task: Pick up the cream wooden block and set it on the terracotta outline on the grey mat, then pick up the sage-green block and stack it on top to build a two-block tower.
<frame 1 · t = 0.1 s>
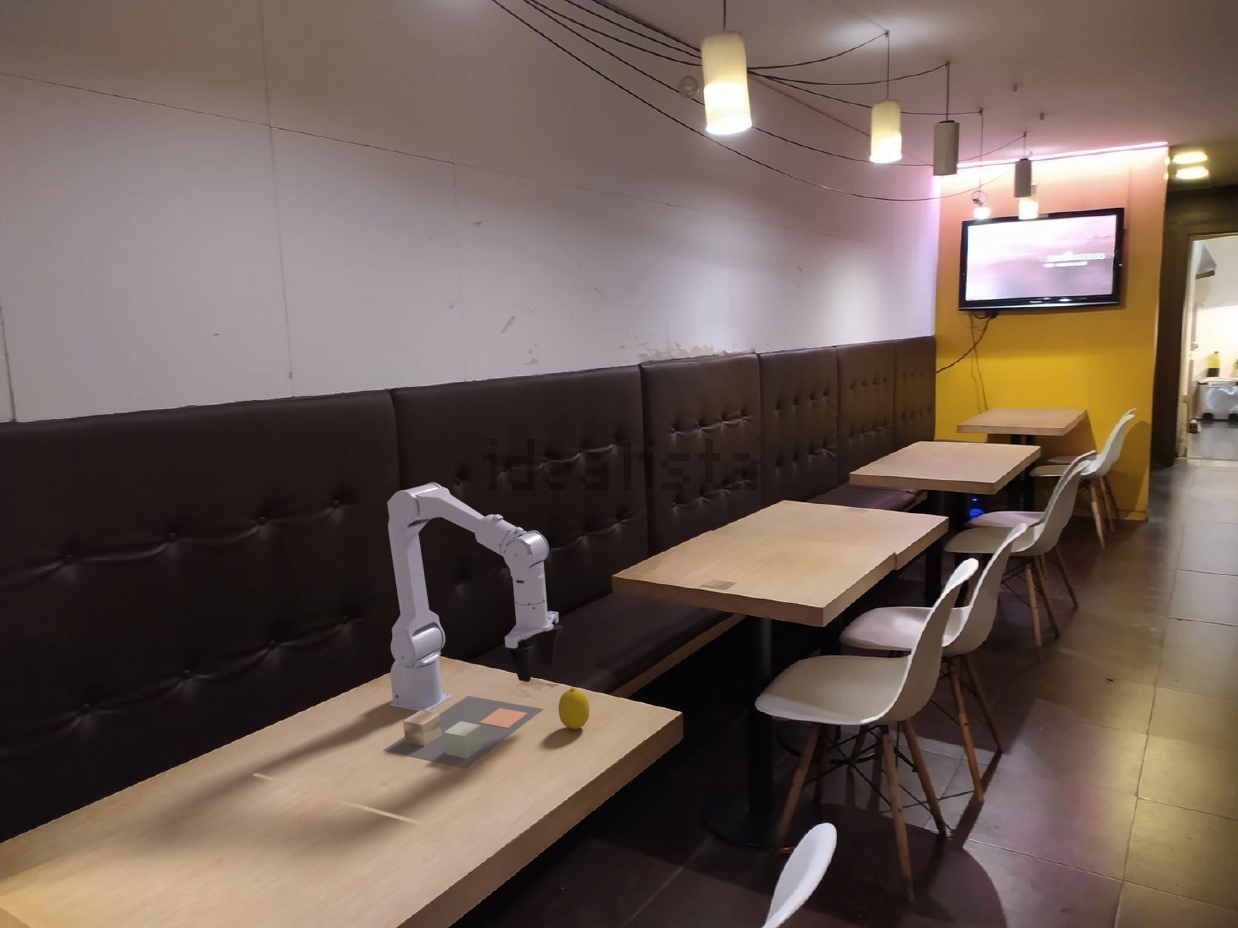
hand: (536, 672, 152), 10 cm above the table, tool pointing down, fingers open, 7 cm apart
sage block: (464, 750, 144), resting on grey mat
grey mat: (466, 730, 153), on the table
lemon: (575, 731, 150), on the table
cream block: (423, 738, 150), resting on grey mat
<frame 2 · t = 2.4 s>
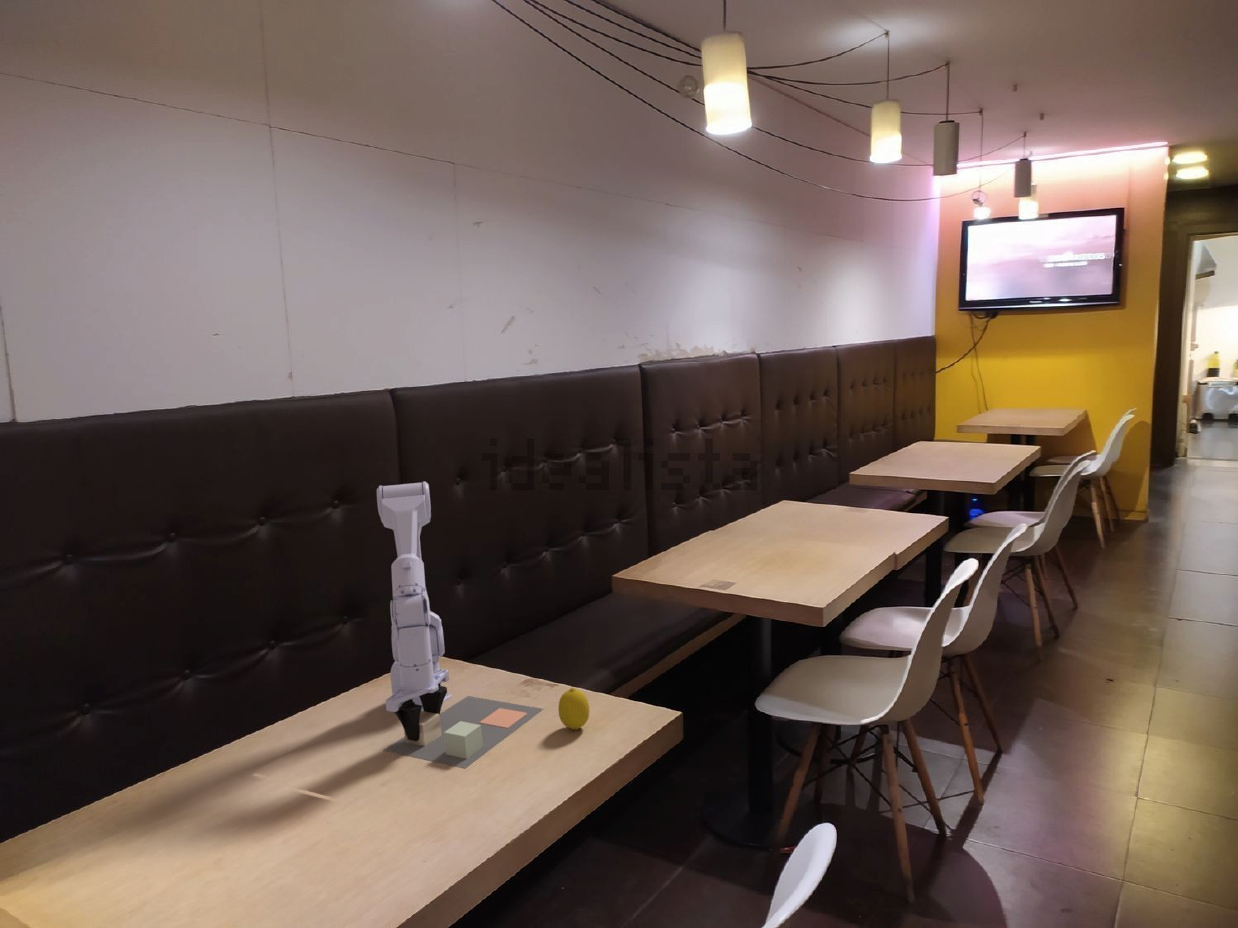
hand: (423, 733, 150), 1 cm above the table, tool pointing down, fingers closed on cream block, 4 cm apart
cream block: (423, 738, 150), resting on grey mat, touching gripper
everything else where it was.
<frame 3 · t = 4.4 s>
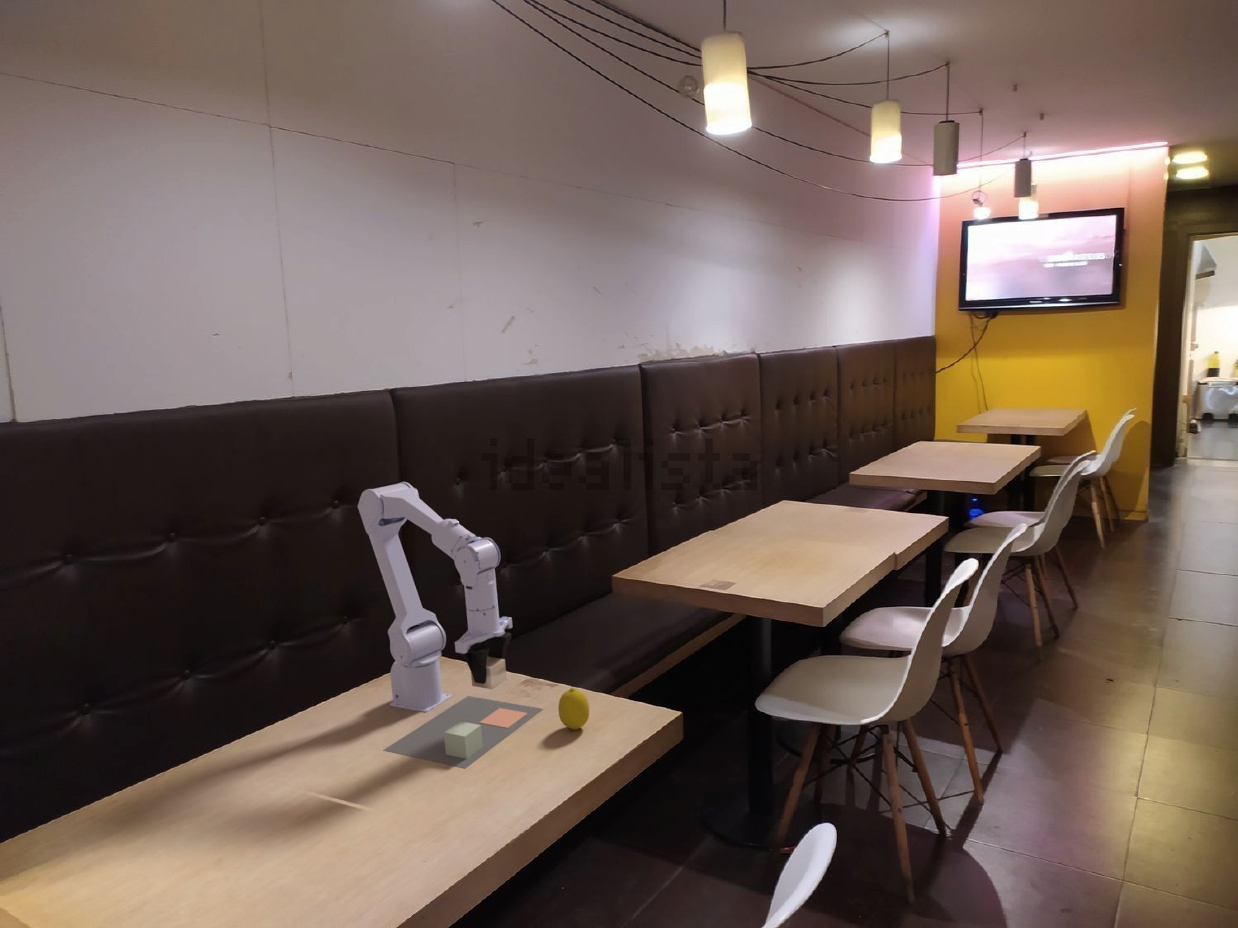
hand: (488, 677, 154), 9 cm above the table, tool pointing down, fingers closed on cream block, 4 cm apart
cream block: (489, 682, 154), point 8 cm above the table, touching gripper
everything else where it was.
when the fingers open (3 cm above the table, at t = 6.2 s): cream block drops 1 cm, resting on grey mat.
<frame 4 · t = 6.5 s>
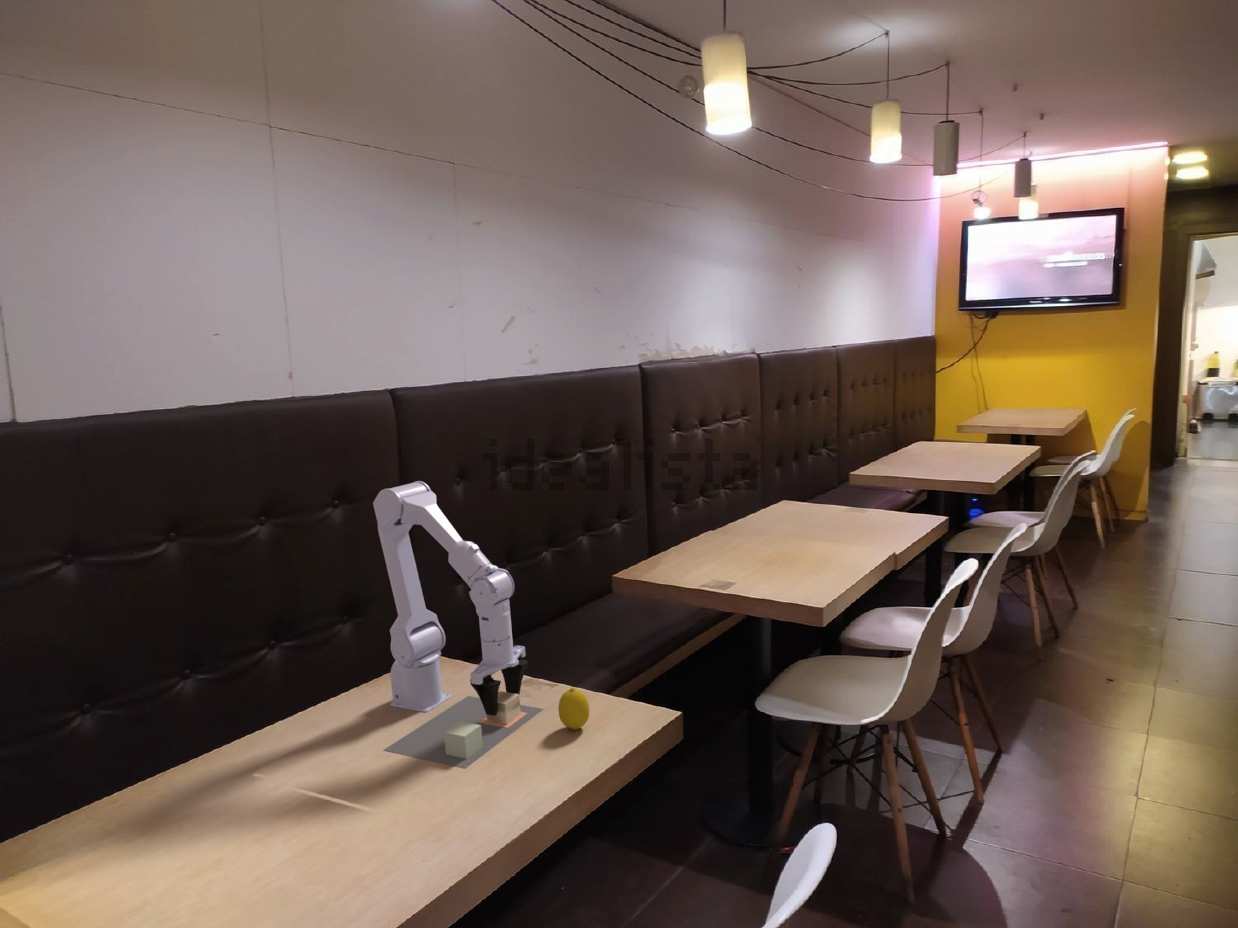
hand: (502, 706, 156), 3 cm above the table, tool pointing down, fingers open, 6 cm apart
cream block: (504, 717, 156), resting on grey mat
everything else where it was.
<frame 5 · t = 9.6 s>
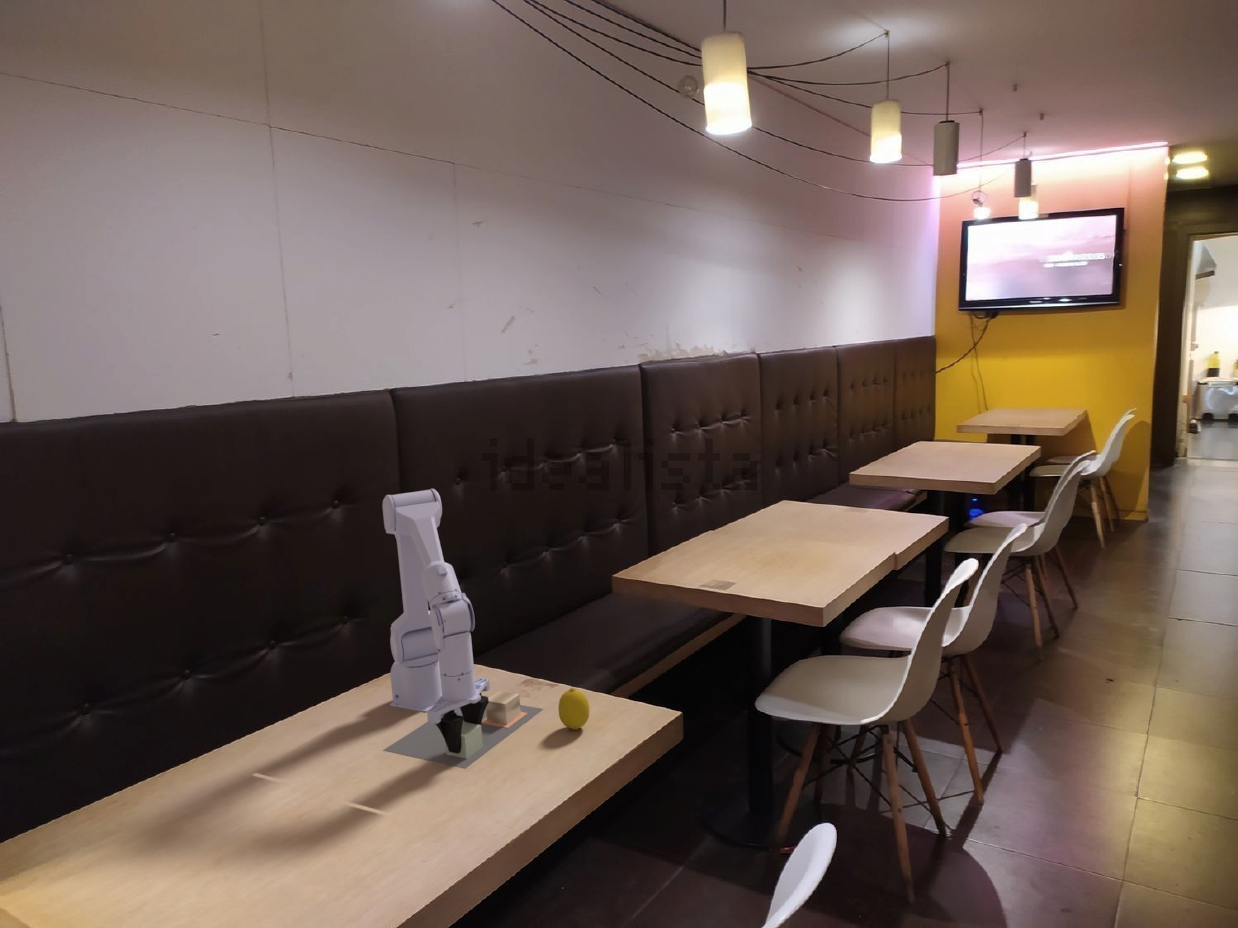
hand: (464, 744, 144), 1 cm above the table, tool pointing down, fingers closed on sage block, 4 cm apart
sage block: (464, 750, 144), resting on grey mat, touching gripper
everything else where it was.
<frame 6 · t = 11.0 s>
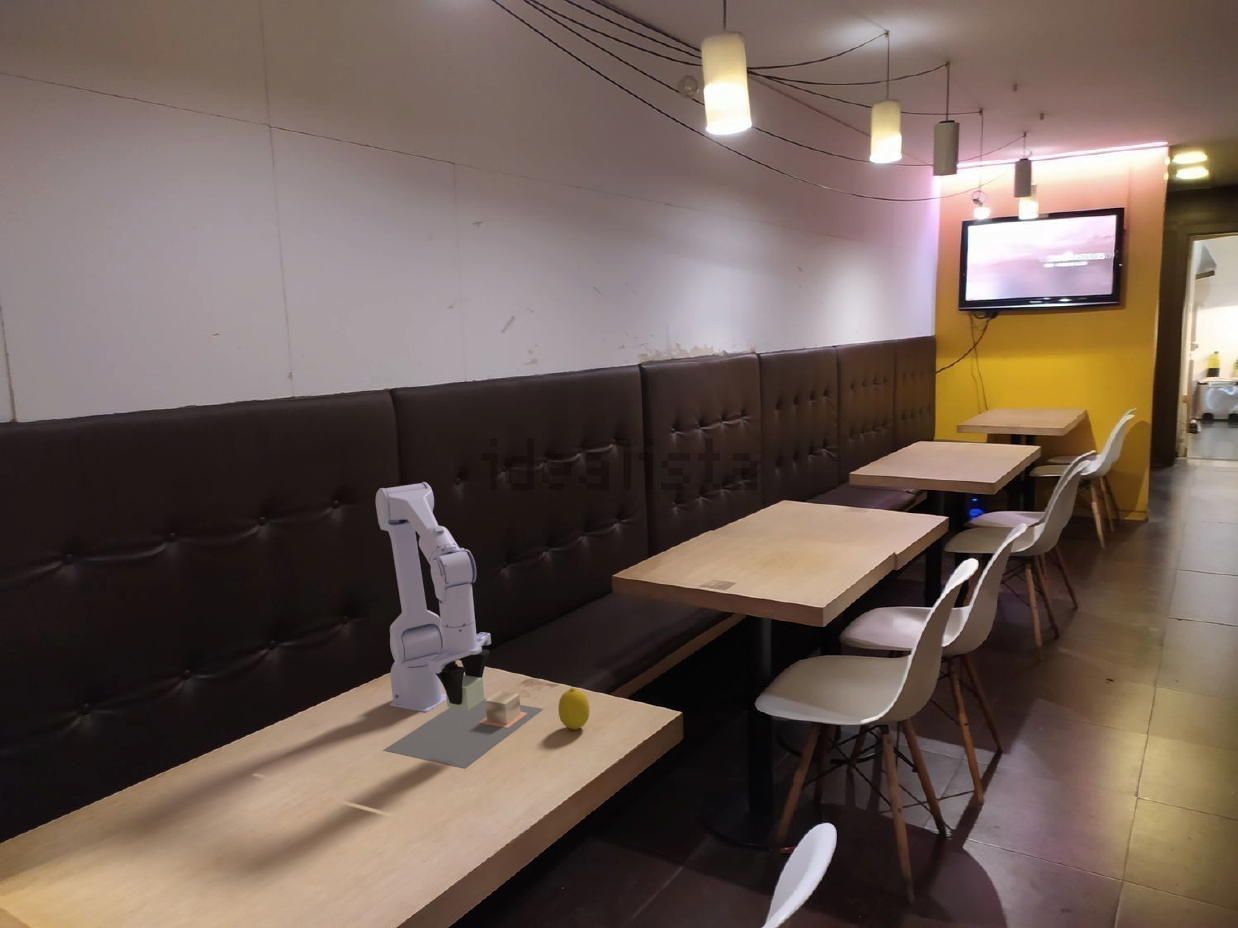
hand: (465, 697, 145), 9 cm above the table, tool pointing down, fingers closed on sage block, 4 cm apart
sage block: (465, 703, 145), point 8 cm above the table, touching gripper
everything else where it was.
when the fingers open (7 cm above the table, at t = 12.9 s): sage block stays where it is, resting on cream block.
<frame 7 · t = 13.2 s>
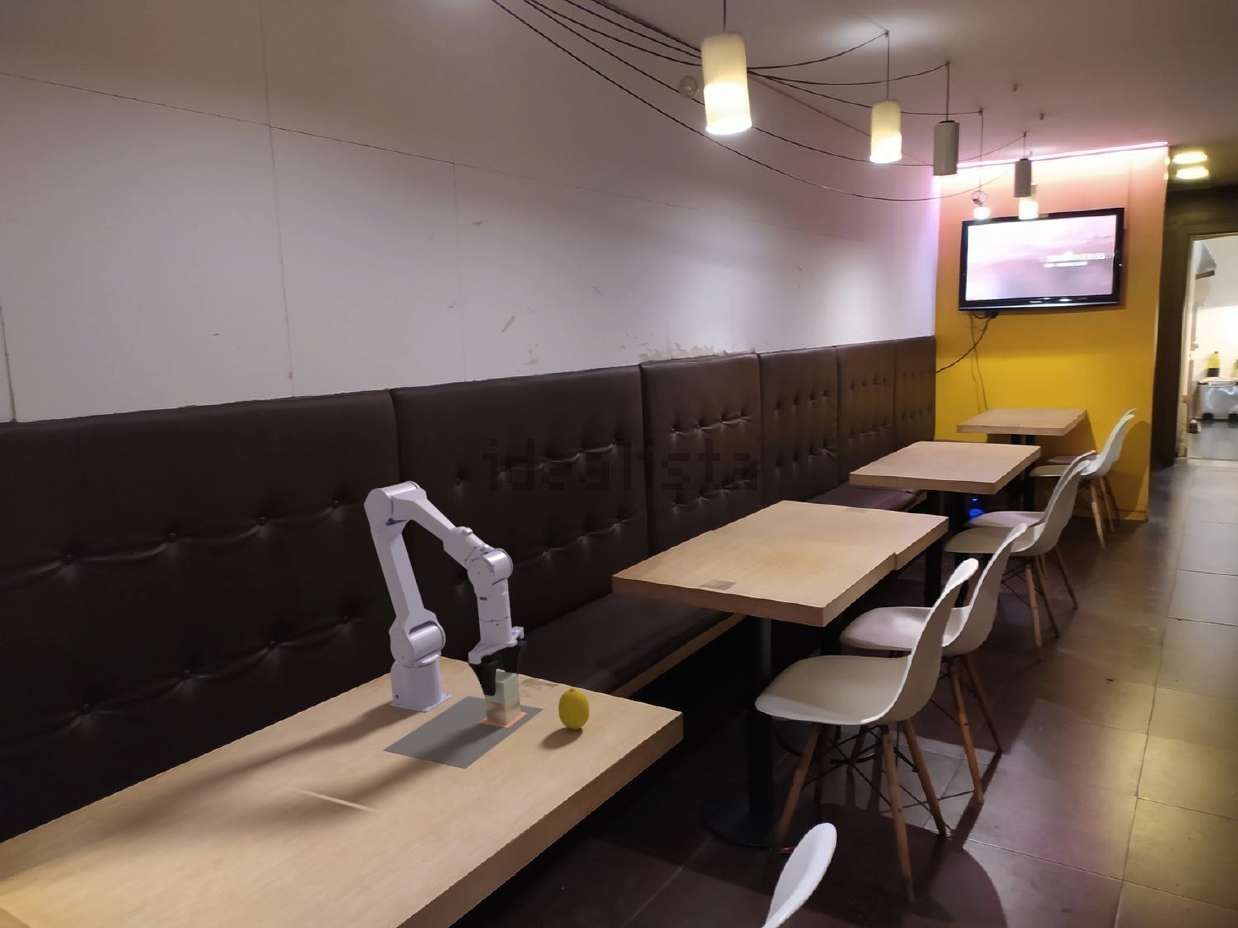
hand: (500, 686, 155), 7 cm above the table, tool pointing down, fingers open, 7 cm apart
sage block: (502, 697, 156), point 4 cm above the table, touching cream block
cream block: (504, 717, 156), resting on grey mat, touching sage block
everything else where it was.
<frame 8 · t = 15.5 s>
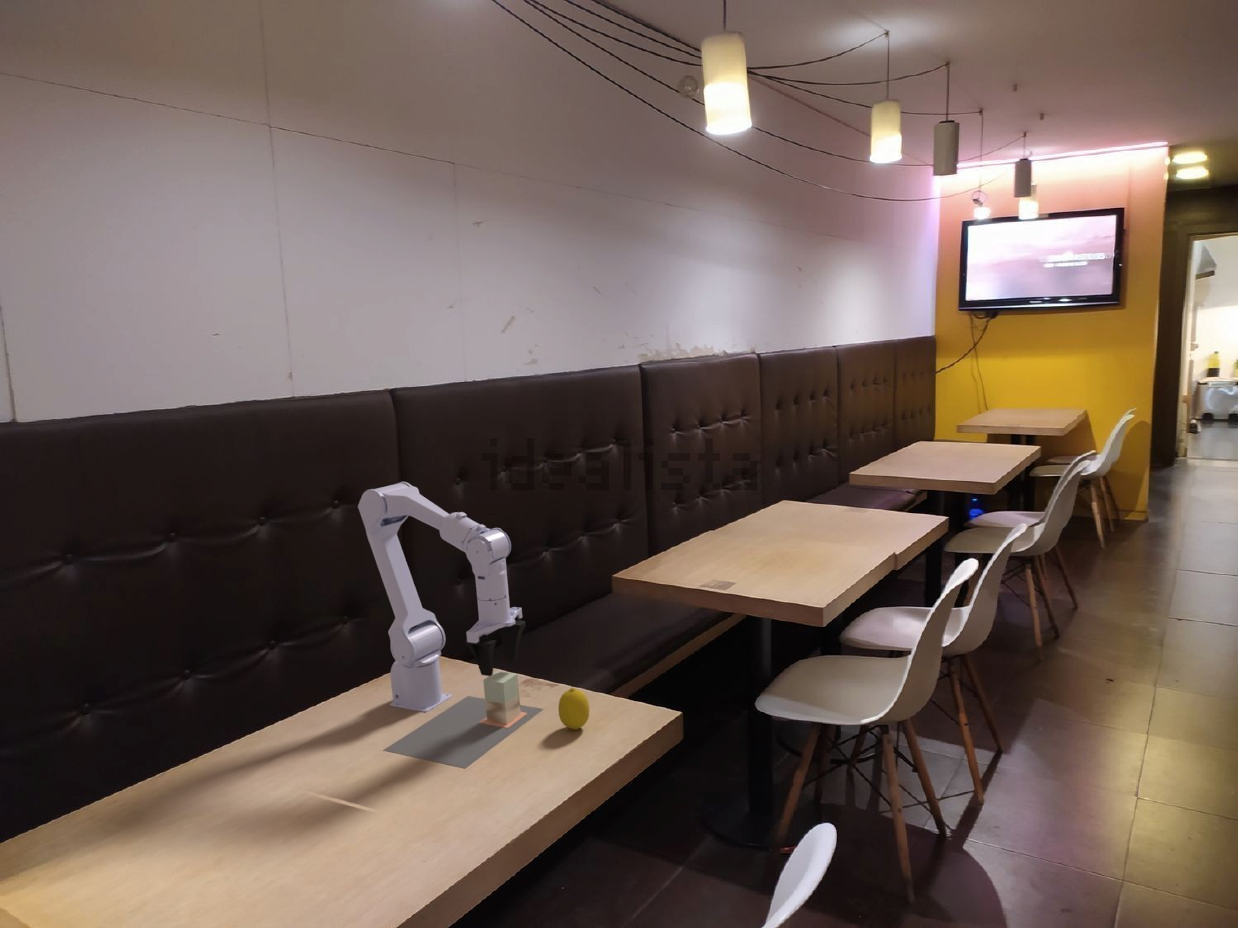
hand: (499, 667, 155), 10 cm above the table, tool pointing down, fingers open, 7 cm apart
nothing on the table moved.
at the end: cream block 0.1 cm from the target spot, point 0.5 cm above the table; sage block 0.0 cm off-centre on the cream block, point 4.0 cm above the cream block's base; sage block tilted 0° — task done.
